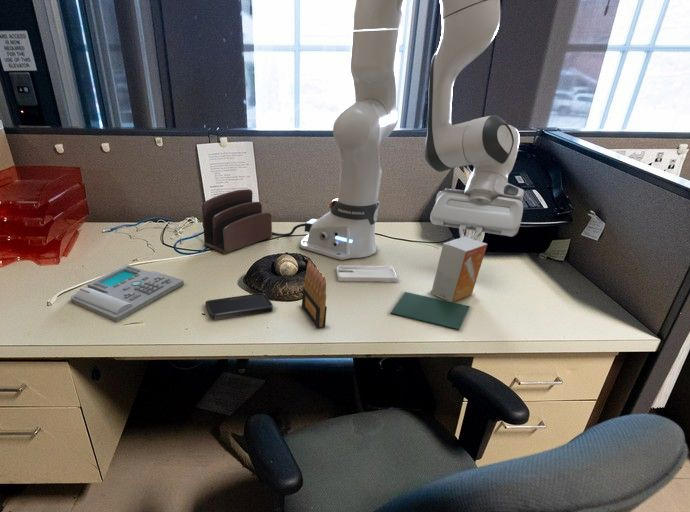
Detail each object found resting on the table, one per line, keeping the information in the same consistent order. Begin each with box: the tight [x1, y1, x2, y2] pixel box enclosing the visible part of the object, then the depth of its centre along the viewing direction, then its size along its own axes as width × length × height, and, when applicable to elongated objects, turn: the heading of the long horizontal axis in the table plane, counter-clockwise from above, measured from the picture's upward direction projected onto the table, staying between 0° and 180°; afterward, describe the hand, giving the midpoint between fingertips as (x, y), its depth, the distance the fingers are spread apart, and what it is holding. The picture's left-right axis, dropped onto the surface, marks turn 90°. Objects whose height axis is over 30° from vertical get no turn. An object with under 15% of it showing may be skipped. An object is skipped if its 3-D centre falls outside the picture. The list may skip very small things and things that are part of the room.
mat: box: [390, 291, 470, 331], centre depth 110 cm, size 15×12×1 cm
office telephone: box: [70, 264, 185, 323], centre depth 119 cm, size 23×3×20 cm
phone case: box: [335, 265, 398, 283], centre depth 125 cm, size 7×1×15 cm
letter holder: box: [201, 188, 273, 255], centre depth 143 cm, size 10×20×14 cm, turn 132°
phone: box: [205, 292, 274, 321], centre depth 112 cm, size 8×1×15 cm
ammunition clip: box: [301, 259, 328, 329], centre depth 105 cm, size 11×2×12 cm, turn 13°
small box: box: [430, 235, 488, 303], centre depth 112 cm, size 8×6×13 cm
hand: (465, 244), depth 114 cm, fingers closed
